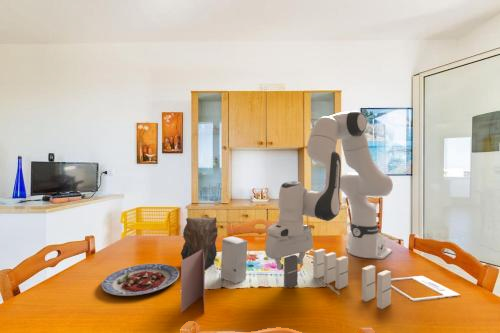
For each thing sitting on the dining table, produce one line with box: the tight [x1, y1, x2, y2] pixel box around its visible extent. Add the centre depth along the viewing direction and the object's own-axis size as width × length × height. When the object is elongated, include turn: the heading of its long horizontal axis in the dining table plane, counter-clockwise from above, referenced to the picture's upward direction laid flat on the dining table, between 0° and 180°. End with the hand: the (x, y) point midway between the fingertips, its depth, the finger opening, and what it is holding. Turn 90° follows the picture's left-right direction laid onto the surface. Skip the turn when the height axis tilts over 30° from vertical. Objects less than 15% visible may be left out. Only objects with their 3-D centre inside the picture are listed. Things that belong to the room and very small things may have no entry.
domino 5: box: [361, 264, 376, 303], centre depth 84 cm, size 2×5×10 cm, turn 125°
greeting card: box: [180, 249, 206, 313], centre depth 79 cm, size 11×7×15 cm, turn 157°
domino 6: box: [376, 269, 392, 310], centre depth 80 cm, size 2×5×10 cm, turn 125°
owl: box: [180, 216, 218, 271], centre depth 111 cm, size 13×13×20 cm
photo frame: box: [391, 275, 461, 302], centre depth 91 cm, size 15×1×18 cm
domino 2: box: [312, 248, 326, 279], centre depth 100 cm, size 2×5×10 cm, turn 125°
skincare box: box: [220, 236, 248, 284], centre depth 98 cm, size 8×6×15 cm
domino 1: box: [283, 254, 299, 288], centre depth 93 cm, size 2×5×10 cm, turn 125°
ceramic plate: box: [101, 263, 180, 297], centre depth 94 cm, size 26×26×3 cm
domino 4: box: [334, 255, 349, 290], centre depth 92 cm, size 2×5×10 cm, turn 125°
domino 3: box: [323, 251, 337, 284], centre depth 96 cm, size 2×5×10 cm, turn 125°
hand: (290, 266), depth 93 cm, fingers open, 8 cm apart
